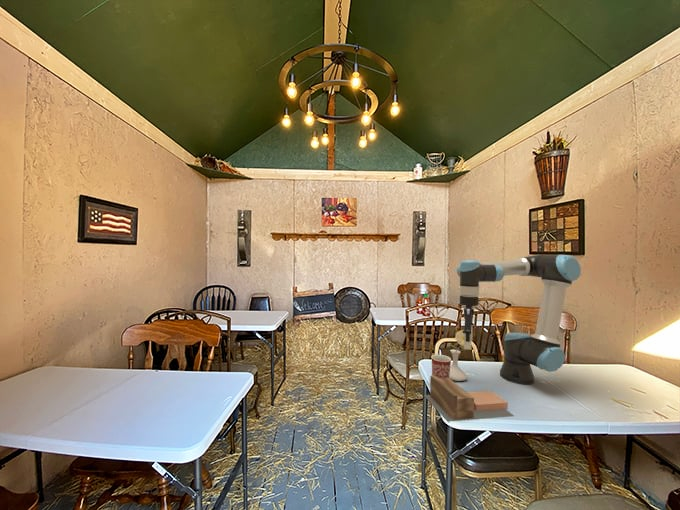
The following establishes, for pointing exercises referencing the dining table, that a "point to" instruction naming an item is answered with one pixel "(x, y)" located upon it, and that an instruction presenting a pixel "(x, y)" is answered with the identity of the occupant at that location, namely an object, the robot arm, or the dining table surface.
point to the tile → (487, 401)
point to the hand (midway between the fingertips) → (468, 344)
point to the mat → (476, 413)
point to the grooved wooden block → (451, 398)
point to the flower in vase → (455, 371)
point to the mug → (441, 366)
